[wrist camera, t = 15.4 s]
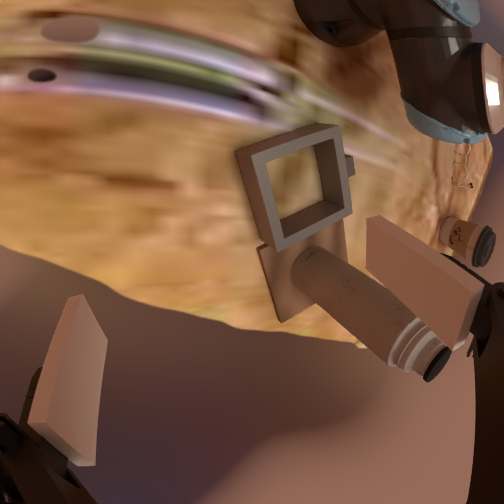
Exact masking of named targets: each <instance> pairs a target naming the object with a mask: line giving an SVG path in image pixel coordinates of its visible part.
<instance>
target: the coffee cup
mask: <svg viewBox="0 0 504 504" xmlns="http://www.w3.org/2000/svg"><path fill="white" fill-rule="evenodd" d="M439 238H440V240H441V241H442V242H443V243H444V244H445V245H447V246H448V247H450V248H451V249H453V250H454V251H455V252H457V253H458V254H460V255H461V256H463V257H464V258H465V259H467V260H468V261H469V262H471V263H472V266H475V267H479V266H481V267H484V266H485V265H486V264H487V263H488V261H489V259H490V257H491V255H492V252H493V250H494V246H495V241H496V235H495V233H494V232H493V231H492V229H491V228H490V227H489V226H485V227H484V226H480V225H477V224H474V223H470V222H466V221H463V220H459V219H456V218H452V217H451V218H450V217H448V218H446V219H445V220H444V222H443V223H442V225H441V228H440V232H439Z"/></svg>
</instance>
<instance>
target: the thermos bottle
mask: <svg viewBox="0 0 504 504" xmlns="http://www.w3.org/2000/svg"><path fill="white" fill-rule="evenodd" d="M292 280H293V282H294V284H295V285H296V286H297V287H298V288H299V289H300V290H301V291H303V292H304V293H305V294H306V295H307V296H308V297H310V298H311V299H312V300H313V301H314V302H315V303H317V304H318V305H319V306H320V307H322V308H323V309H324V310H325V311H326V312H327V313H329V314H330V315H331V316H332V317H333V318H334V319H335V320H336V321H337V322H339V323H340V324H341V325H342V326H343V327H344V328H346V329H347V330H348V331H349V332H350V333H351V334H352V335H354V336H355V337H356V338H357V339H358V340H359V341H361V342H362V343H363V344H364V345H365V346H366V347H368V348H369V349H370V350H371V351H372V352H373V353H375V354H376V355H377V356H378V357H379V358H380V359H382V360H383V361H384V362H385V363H386V364H387V365H388V366H390V367H394V366H398V367H399V369H400V370H401V371H404V372H411V371H413V370H414V371H415V372H416V373H418V374H419V375H421V376H423V379H424V380H425V381H426V382H430V381H431V380H433V379H434V378H435V377H436V376H437V375H438V374H439V372H440V371H441V370H442V369H443V367H444V366H445V364H446V363H447V361H448V359H449V358H450V355H451V352H452V351H451V350H450V348H449V347H448V346H445V344H444V343H443V342H442V341H441V340H439V339H438V338H437V337H438V336H437V335H436V334H435V333H434V332H433V331H432V330H431V329H430V328H429V327H427V326H426V325H425V324H424V323H423V322H422V321H421V320H420V319H419V318H418V317H417V316H416V315H415V314H414V313H413V312H412V311H411V310H410V309H409V308H408V307H407V306H406V305H405V304H404V303H403V302H401V301H400V300H399V299H398V298H397V297H396V296H395V295H394V294H393V293H392V292H391V291H390V290H389V289H387V288H385V287H384V286H382V285H381V284H379V283H378V282H376V281H375V280H373V279H372V278H370V277H369V276H367V275H366V274H364V273H362V272H361V271H359V270H358V269H356V268H355V267H353V266H351V265H350V264H348V263H347V262H345V261H344V260H342V259H340V258H339V257H337V256H336V255H334V254H332V253H331V252H329V251H328V250H326V249H324V248H322V247H319V246H314V247H311V248H308V249H306V250H305V251H304V252H302V253H301V254H300V255H299V257H298V258H297V259H296V261H295V263H294V265H293V268H292Z"/></svg>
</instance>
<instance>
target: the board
mask: <svg viewBox="0 0 504 504" xmlns="http://www.w3.org/2000/svg"><path fill="white" fill-rule="evenodd" d="M314 246H319V247H322V248H324V249H326V250H328V251H329V252H331V253H332V254H334V255H336V256H337V257H339V258H340V259H342V260H344V261H345V262H347V263H348V260H347V250H346V241H345V232H344V224H343V219H341V220H339V221H337V222H335V223H333V224H331V225H329V226H327V227H326V228H324V229H322V230H320V231H318V232H316V233H314V234H312V235H310V236H308V237H306V238H305V239H303V240H301V241H299V242H297V243H295V244H293V245H291V246H289V247H287V248H285V249H283V250H281V251H280V252H278V253H277V252H276V251H275V250H274V249H272V248H271V247H270V246H268V245H267V244H264V245H262V246H260V247H258V248H257V250H258V254H259V257H260V260H261V264H262V267H263V270H264V273H265V277H266V280H267V283H268V287H269V290H270V293H271V297H272V300H273V303H274V307H275V310H276V313H277V316H278V320H279V321H280V322H281V323H283V322H285V321H286V320H288V319H290V318H291V317H293V316H295V315H296V314H298V313H300V312H301V311H303V310H305V309H306V308H308V307H310V306H311V305H313V304H315V302H314V301H313V300H312V299H311V298H310V297H308V296H307V295H306V294H305V293H304V292H303V291H301V290H300V289H299V288H298V287H297V286H296V285H295V284H294V282H293V280H292V268H293V265H294V263H295V261H296V259H297V258H298V257H299V255H300V254H301V253H302V252H304V251H305V250H306V249H308V248H311V247H314Z"/></svg>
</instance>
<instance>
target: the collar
mask: <svg viewBox="0 0 504 504" xmlns="http://www.w3.org/2000/svg"><path fill="white" fill-rule="evenodd" d="M312 145H314V147H315V152H316V157H317V162H318V167H319V172H320V178H321V183H322V189H323V194H324V200H322V201H320V202H318V203H316V204H314V205H312V206H310V207H308V208H305V209H303V210H301V211H299V212H297V213H295V214H293V215H291V216H289V217H287V218H285V219H282V220H280V219H279V215H278V211H277V207H276V203H275V199H274V195H273V192H272V188H271V184H270V180H269V176H268V172H267V169H266V165H265V163H266V162H268V161H271V160H274V159H276V158H279V157H281V156H284V155H287V154H289V153H292V152H295V151H298V150H300V149H303V148H306V147H309V146H312ZM235 154H236V157H237V161H238V164H239V167H240V171H241V174H242V177H243V181H244V184H245V187H246V191H247V194H248V198H249V201H250V204H251V208H252V211H253V215H254V218H255V221H256V225H257V228H258V232H259V235H260V238H261V240H262V241H263V242H265V243H266V244H267V245H268V246H270V247H271V248H272V249H274V250H275V251H276V252H277V253H278V252H280V251H281V250H283V249H285V248H287V247H289V246H291V245H293V244H295V243H297V242H299V241H301V240H303V239H305V238H306V237H308V236H310V235H312V234H314V233H316V232H318V231H320V230H322V229H324V228H326V227H327V226H329V225H331V224H333V223H335V222H337V221H339V220H341V219H343V218H344V217H346V216H348V215H350V214H352V213H353V212H352V203H351V195H350V188H349V180H348V177H350V176H352V175H355V169H354V162H353V156H350V155H346V154H344V148H343V142H342V137H341V131H340V126H339V125H333V124H323V123H316V124H313V125H309V126H306V127H303V128H300V129H297V130H294V131H290V132H287V133H284V134H281V135H278V136H276V137H273V138H270V139H267V140H264V141H261V142H258V143H256V144H253V145H250V146H247V147H245V148H242V149H239V150H237V151H235Z"/></svg>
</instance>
